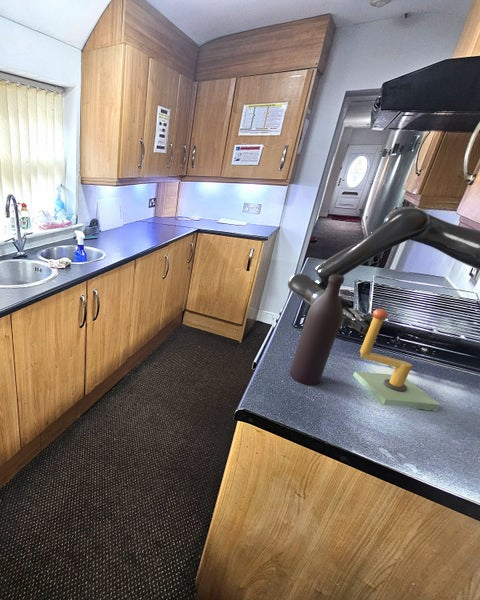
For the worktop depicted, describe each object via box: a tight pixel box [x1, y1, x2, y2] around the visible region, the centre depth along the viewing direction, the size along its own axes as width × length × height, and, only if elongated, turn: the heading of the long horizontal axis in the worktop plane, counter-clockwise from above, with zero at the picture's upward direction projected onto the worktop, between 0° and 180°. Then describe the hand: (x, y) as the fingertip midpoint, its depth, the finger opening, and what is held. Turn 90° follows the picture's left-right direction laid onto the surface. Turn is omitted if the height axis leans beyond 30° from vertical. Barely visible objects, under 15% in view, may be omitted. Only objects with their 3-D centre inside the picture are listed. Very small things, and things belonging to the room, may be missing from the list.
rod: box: [359, 308, 413, 387], centre depth 83 cm, size 11×3×19 cm, turn 52°
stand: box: [352, 370, 441, 411], centre depth 85 cm, size 12×12×3 cm
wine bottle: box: [289, 274, 345, 386], centre depth 84 cm, size 7×7×30 cm
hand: (367, 330), depth 85 cm, fingers closed
